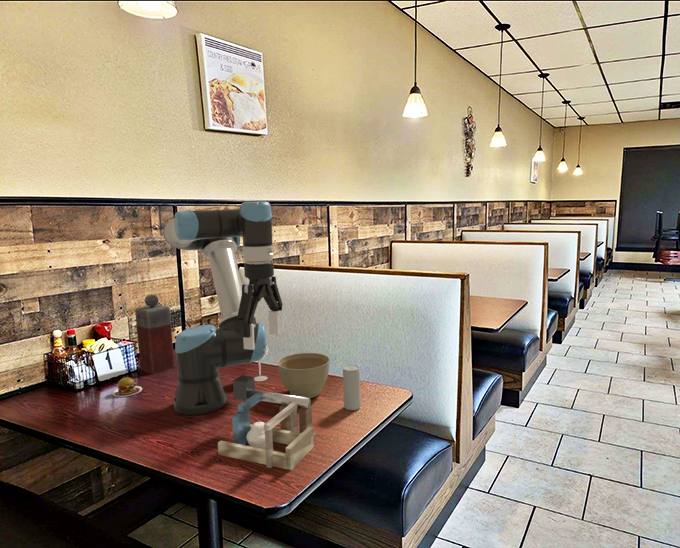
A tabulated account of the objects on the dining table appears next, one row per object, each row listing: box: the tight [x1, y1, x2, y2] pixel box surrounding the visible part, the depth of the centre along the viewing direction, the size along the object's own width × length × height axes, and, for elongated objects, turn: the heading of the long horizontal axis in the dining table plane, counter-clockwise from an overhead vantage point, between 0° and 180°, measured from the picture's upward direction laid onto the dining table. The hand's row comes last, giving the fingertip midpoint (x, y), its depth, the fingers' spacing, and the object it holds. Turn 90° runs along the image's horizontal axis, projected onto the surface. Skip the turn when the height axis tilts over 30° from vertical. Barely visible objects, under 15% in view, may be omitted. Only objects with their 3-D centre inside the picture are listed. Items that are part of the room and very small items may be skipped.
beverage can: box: [342, 364, 362, 412], centre depth 139 cm, size 5×5×12 cm
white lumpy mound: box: [246, 421, 266, 449], centre depth 117 cm, size 6×6×7 cm
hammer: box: [231, 375, 312, 445], centre depth 121 cm, size 21×14×13 cm, turn 66°
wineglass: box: [254, 342, 270, 382], centre depth 165 cm, size 7×7×12 cm
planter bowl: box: [277, 352, 331, 399], centre depth 151 cm, size 16×16×11 cm
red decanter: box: [134, 294, 175, 375], centre depth 179 cm, size 9×11×28 cm
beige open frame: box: [217, 403, 315, 471], centre depth 116 cm, size 20×13×10 cm, turn 66°
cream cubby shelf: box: [279, 404, 317, 438], centre depth 123 cm, size 9×4×8 cm, turn 66°
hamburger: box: [111, 377, 143, 398], centre depth 157 cm, size 12×12×6 cm
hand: (262, 341), depth 128 cm, fingers open, 13 cm apart
